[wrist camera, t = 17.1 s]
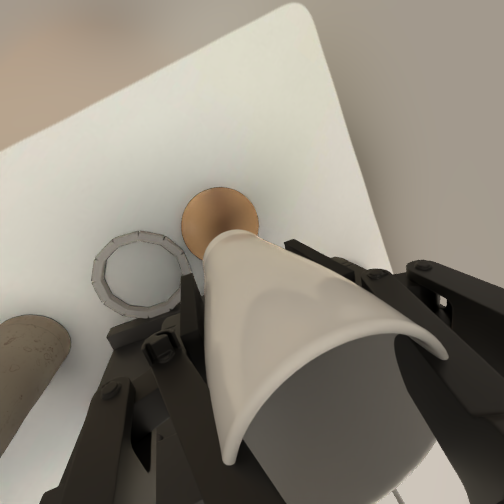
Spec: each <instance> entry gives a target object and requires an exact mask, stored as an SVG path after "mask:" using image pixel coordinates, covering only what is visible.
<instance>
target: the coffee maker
mask: <svg viewBox="0 0 504 504" xmlns="http://www.w3.org/2000/svg"><path fill="white" fill-rule="evenodd" d="M163 238H164V235H160V234H155V233H150V232H145V231H140V232H139V231H136V232H132V233H129V234H125V235H122V236H119V237H116V238H114V239H112V240H111V241H110V242H109V243H108V244H107V245H106V246H105V247H104V249H103V250H102V251H101V252H100V253H99V254H98V255H97V256H96V257H95V258H96V259H95V260H94V264H93V271H92V279H91V281H93V282H92V285H93V287H94V289H95V291H96V293H97V294H98V296H99V298H100V300H101V302H104V305H106V306H107V307H109V308H110V309H112V310H114V311H115V312H117V313H119V314H120V315H122V316H123V315H124V314H125V317H136V318H138V319H135V320H133V321H130V322H127V323H124V324H121V325H119V326H116V327H113V328H111V329H110V331H109V333H108V335H107V339H108V341H109V342H110V344H111V346H112V348H113V353H112V355H111V358H110V360H109V363H108V365H107V368H106V370H105V373H104V375H103V378H102V380H101V382H100V385H99V387H98V389H99V388H100V387H101V386H102V385H103V384H105V383H106V382H107V381H109V380H111V379H113V378H115V377H118V376H127V377H129V378H130V380H131V381H132V380H133V379H135V378H136V377H138V376H140V375H141V374H143V373H144V372H145V371H147V370H148V369H149V368H150V365H149V363H148V361H147V359H146V357H145V356H144V354H143V352H142V345H143V343H144V341H145V340H146V339H147V338H148V337H150V336H151V335H153V334H154V333H156V332H158V331H161V328H162V324H163V322H164V321H165V319H166V318H167V317H170V316H173V315H176V314H178V313H180V304H178V303H179V302H180V301H181V283H180V287H179V289H178V290H177V291H176V292H175V293H174V294H173V295H172V296H171V298H170V299H169V300H168V301H166V302H163V303H160V304H157V305H155V306H152V307H149V308H148V307H139V306H129V305H128V304H126V303H124V302H123V301H121V300H120V299H118V298H117V297H115V296H113V295H112V294H111V292H110V290H109V288H108V286H107V284H106V282H105V280H104V272H105V265H106V259H107V258H108V257H109V256H110V255H111V254H112V253H113V252H114V251H115V250H116V249H117V248H118V247H120V246H123V245H127V244H130V243H133V242H137V241H143V242H148V243H154V244H159V245H161V246H163V247H164V248H165V249H167V250H168V251H169V252H170V253H172V254H173V255H174V256H175V257H177V260H178V263H179V265H180V268H181V271H182V276H184V275H187V274H190V273H191V269H190V267H189V264H188V261H187V258H186V256H185V253H184V252H183V250H182V249H181V248H180V247H179V246H177V245H176V244H175V243H174V242H172V241H171V240H170V239H169V238H168V237H166V236H165V238H164V239H163ZM201 298H202V300H203V303H204V295H203V296H201ZM177 304H178V305H177ZM206 385H207V384H206ZM83 425H84V424H83ZM82 429H83V427H82ZM82 429H81V432H82ZM81 432H80V434H79V437H78V439H77V442H76V444H75V447H74V449H73V452H72V454H71V456H70V459H69V461H68V464H67V466H66V469H65V471H64V474H63V476H62V479H61V481H60V484H59V486H58V487H56V488H54V489H52V490H49V491H47V492H45V493H44V494H43V496H42V499H41V501H40V503H39V504H59V502H60V499H61V496H62V493H63V490H64V486H65V483H66V480H67V477H68V474H69V470H70V467H71V464H72V461H73V458H74V454H75V451H76V448H77V445H78V441H79V438H80V435H81ZM156 504H204V502H203V499H202V497H201V494H200V491H199V489H198V486H197V484H196V481H195V479H194V476H193V474H192V471H191V469H190V466H189V464H188V461H187V459H186V456H185V454H184V451H183V449H182V446H181V443H180V441H179V438H178V436H177V433H176V431H175V428H174V426H173V423H172V421H171V418H169V419H167V420H166V421H165V422H163V423H162V424H161V425H159V426H158V427H157V428H156Z"/></svg>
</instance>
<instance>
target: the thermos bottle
mask: <svg viewBox="0 0 504 504" xmlns="http://www.w3.org/2000/svg"><path fill="white" fill-rule="evenodd" d="M70 348H71V341H70V336H69V334H68V332H67V331H66V330H65V328H64V327H63V326H62V325H60V324H59V323H58V322H56V321H54V320H52V319H50V318H47V317H43V316H38V315H24V316H18V317H14V318H11V319H9V320H7V321H5V322H3V323H2V324H1V325H0V457H1V456H2V454H3V453H4V451H5V450H6V448H7V447H8V445H9V444H10V442H11V441H12V439H13V437H14V436H15V434H16V433H17V431H18V429H19V428H20V426H21V424H22V422H23V421H24V419H25V418H26V416H27V414H28V413H29V412H30V410H31V409H32V407H33V406H34V405H35V403H36V402H37V401H38V399H39V398H40V396H41V395H42V393H43V392H44V390H45V389H46V387H47V386H48V384H49V383H50V381H51V380H52V378H53V377H54V375H55V374H56V372H57V371H58V369H59V368H60V366H61V365H62V363H63V361H64V360H65V358H66V357H67V355H68V353H69V351H70Z"/></svg>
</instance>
